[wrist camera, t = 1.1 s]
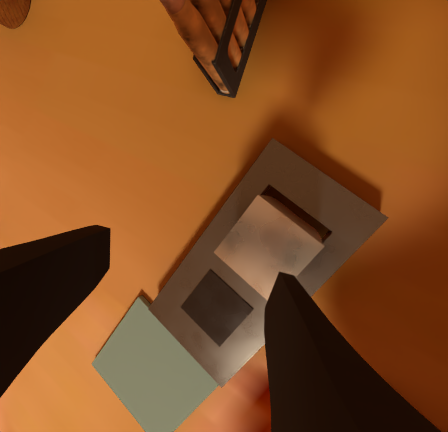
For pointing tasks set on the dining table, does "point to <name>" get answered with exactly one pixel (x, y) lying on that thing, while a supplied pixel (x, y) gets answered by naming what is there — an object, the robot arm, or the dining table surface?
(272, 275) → the steel block
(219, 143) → the dining table surface
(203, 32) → the ammunition clip
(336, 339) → the robot arm
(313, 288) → the grey flat rectangular board
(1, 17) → the disposable coffee cup
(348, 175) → the dining table surface
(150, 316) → the mat
